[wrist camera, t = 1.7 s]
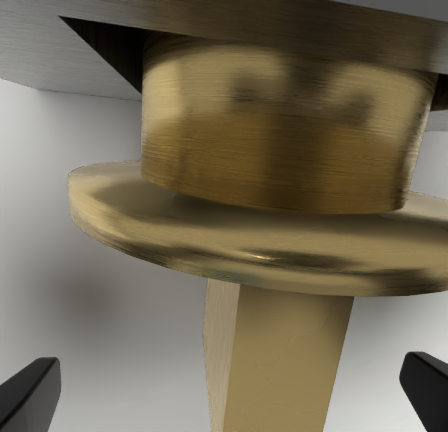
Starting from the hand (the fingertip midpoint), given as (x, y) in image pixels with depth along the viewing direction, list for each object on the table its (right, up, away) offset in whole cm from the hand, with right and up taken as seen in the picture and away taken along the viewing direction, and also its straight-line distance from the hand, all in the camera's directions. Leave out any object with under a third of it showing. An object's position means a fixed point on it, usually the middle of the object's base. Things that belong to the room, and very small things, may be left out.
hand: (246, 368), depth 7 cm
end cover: (0, +6, +4) cm, 7 cm away
